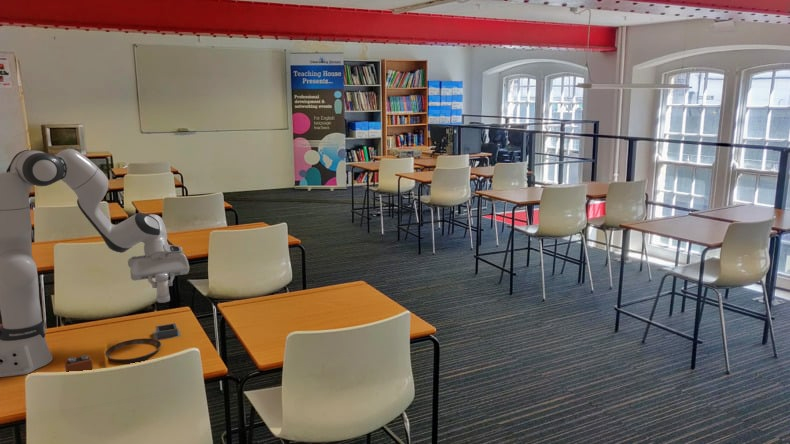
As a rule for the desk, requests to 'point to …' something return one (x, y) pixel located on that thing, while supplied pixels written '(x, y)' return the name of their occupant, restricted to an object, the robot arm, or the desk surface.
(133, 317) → the desk surface
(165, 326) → the dark grey square tray
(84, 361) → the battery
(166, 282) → the cylinder
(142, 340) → the dark grey ring
